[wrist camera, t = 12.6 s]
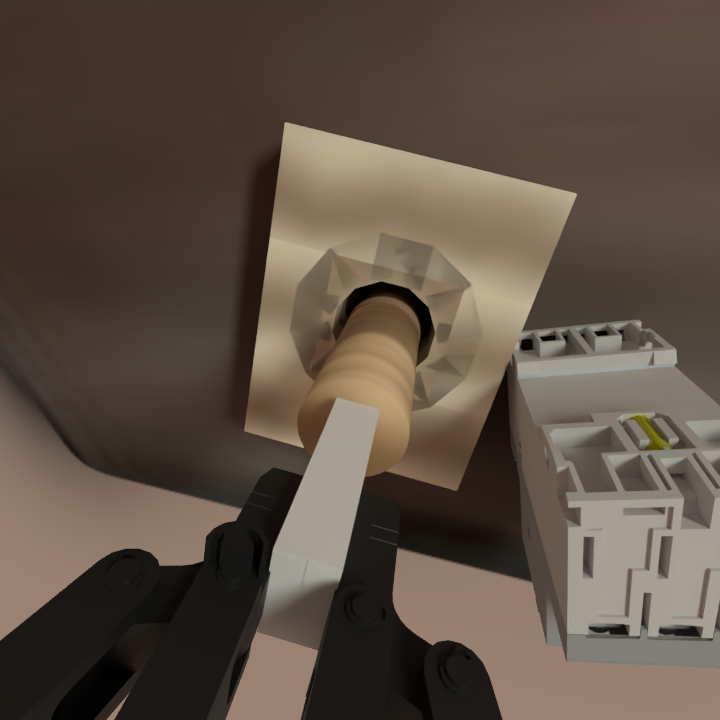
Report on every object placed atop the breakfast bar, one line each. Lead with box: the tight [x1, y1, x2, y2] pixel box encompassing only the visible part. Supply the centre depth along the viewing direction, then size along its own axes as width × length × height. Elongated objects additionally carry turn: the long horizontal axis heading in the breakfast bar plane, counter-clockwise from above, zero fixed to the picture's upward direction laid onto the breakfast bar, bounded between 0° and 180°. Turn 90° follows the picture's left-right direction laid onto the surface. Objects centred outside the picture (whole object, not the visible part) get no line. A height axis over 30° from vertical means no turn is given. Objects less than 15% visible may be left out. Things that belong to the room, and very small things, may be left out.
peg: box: [297, 284, 421, 477], centre depth 22 cm, size 4×4×14 cm
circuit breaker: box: [507, 320, 720, 668], centre depth 23 cm, size 8×14×15 cm, turn 10°
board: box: [244, 122, 577, 491], centre depth 27 cm, size 18×14×4 cm
